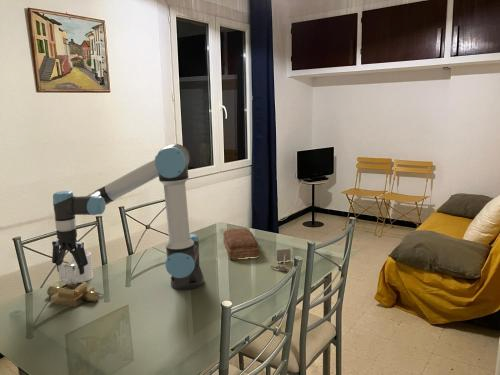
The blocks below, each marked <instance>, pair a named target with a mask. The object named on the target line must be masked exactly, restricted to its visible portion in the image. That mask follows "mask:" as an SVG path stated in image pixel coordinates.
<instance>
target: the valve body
mask: <svg viewBox="0 0 500 375" xmlns="http://www.w3.org/2000/svg"><path fill="white" fill-rule="evenodd" d="M46 294H47V295H48V296H50V302H51V304H54V305H62V306H69V307H75V308H77V307H78V306H79V305H81V304H82V303H84V302H85V301H86V302H93V303H97V302H98V301H99V299H100V296H101V295H100V292H98V291H95V287H94V286H90V285H89V286H88V283H87V281H81V282H80V283H79V286H78V287H77V288H75V289H67V287H66V282H65V283H64V284H62V285H60V286H55V285H51V286H49V287H48V288H47V291H46Z"/></svg>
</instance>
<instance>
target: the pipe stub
mask: <svg viewBox="0 0 500 375" xmlns="http://www.w3.org/2000/svg"><path fill="white" fill-rule="evenodd" d="M64 267H65V277H66V278H65V283H66V287H67V289H75V288H77V287H78V286H79V283H78V277H77V263H73V262H72V263H66V264H64Z"/></svg>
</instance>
